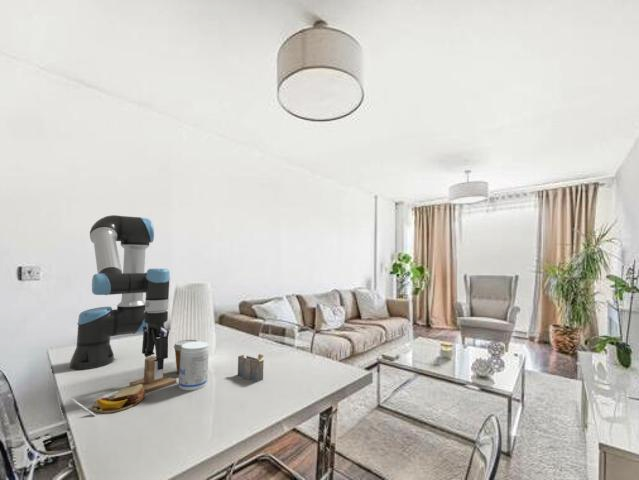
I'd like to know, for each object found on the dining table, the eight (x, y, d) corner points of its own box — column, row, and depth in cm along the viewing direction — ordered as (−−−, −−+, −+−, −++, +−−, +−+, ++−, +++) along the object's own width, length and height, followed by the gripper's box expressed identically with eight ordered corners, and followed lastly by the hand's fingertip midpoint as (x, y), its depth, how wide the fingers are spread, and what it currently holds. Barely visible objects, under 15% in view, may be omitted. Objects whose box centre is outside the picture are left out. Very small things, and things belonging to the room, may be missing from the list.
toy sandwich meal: (106, 397, 101) (107, 383, 102) (150, 396, 103) (151, 381, 103) (82, 417, 89) (83, 400, 89) (133, 414, 91) (133, 398, 91)
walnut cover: (129, 385, 109) (130, 359, 110) (160, 376, 118) (161, 351, 119) (145, 393, 103) (146, 365, 104) (176, 383, 112) (177, 357, 113)
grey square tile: (127, 387, 109) (127, 385, 109) (160, 376, 119) (160, 375, 119) (144, 395, 102) (144, 394, 102) (178, 384, 112) (178, 383, 112)
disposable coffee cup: (189, 378, 118) (190, 346, 119) (167, 376, 120) (168, 344, 121) (203, 369, 127) (204, 340, 128) (182, 367, 129) (183, 338, 130)
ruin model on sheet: (263, 380, 118) (264, 354, 119) (258, 383, 116) (258, 356, 116) (243, 373, 124) (244, 349, 125) (237, 376, 122) (238, 351, 123)
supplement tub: (173, 386, 110) (175, 344, 111) (198, 379, 117) (200, 339, 118) (186, 394, 104) (188, 350, 105) (212, 386, 111) (214, 344, 112)
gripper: (133, 309, 115) (129, 373, 113) (160, 315, 104) (157, 386, 103) (153, 307, 121) (150, 368, 119) (180, 312, 110) (178, 379, 109)
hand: (153, 376), depth 111 cm, fingers open, 6 cm apart
